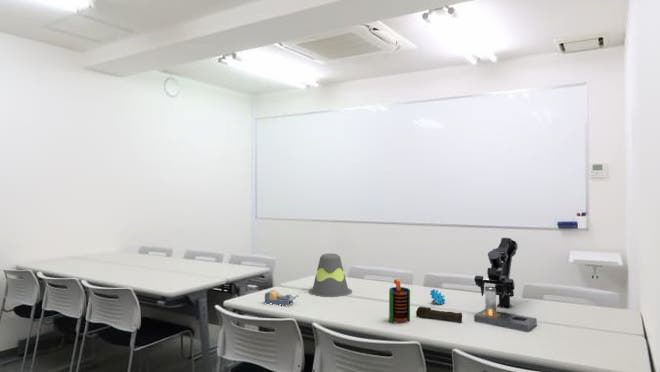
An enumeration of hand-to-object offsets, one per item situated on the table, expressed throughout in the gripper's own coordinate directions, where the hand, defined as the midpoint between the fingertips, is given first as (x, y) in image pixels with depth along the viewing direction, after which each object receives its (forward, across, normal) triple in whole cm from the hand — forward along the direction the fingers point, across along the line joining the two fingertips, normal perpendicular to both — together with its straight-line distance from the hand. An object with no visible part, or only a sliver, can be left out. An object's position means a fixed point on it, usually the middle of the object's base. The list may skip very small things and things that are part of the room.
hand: (491, 296), depth 214 cm
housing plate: (+10, +7, +6) cm, 13 cm away
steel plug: (+7, 0, +4) cm, 8 cm away
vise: (+31, -109, -15) cm, 114 cm away
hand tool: (+18, -23, -2) cm, 29 cm away
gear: (-3, -33, +20) cm, 38 cm away
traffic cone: (+4, -101, +13) cm, 102 cm away
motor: (+27, -39, -11) cm, 48 cm away
